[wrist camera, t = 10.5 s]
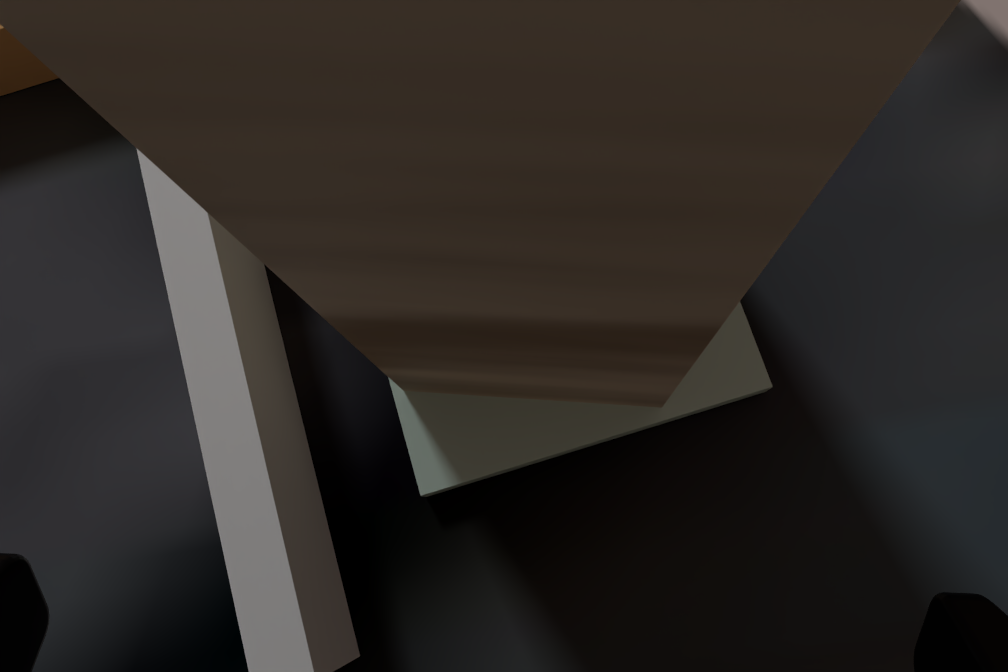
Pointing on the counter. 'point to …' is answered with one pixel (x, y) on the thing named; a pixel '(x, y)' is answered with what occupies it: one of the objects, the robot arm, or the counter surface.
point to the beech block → (497, 160)
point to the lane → (251, 441)
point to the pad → (561, 416)
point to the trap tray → (19, 66)
